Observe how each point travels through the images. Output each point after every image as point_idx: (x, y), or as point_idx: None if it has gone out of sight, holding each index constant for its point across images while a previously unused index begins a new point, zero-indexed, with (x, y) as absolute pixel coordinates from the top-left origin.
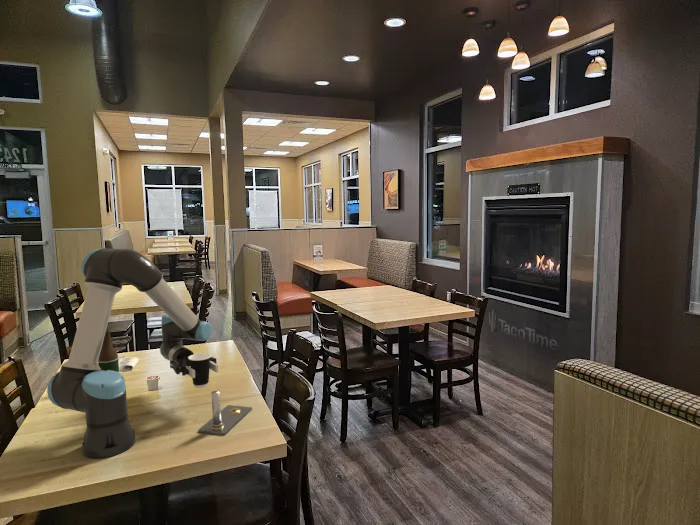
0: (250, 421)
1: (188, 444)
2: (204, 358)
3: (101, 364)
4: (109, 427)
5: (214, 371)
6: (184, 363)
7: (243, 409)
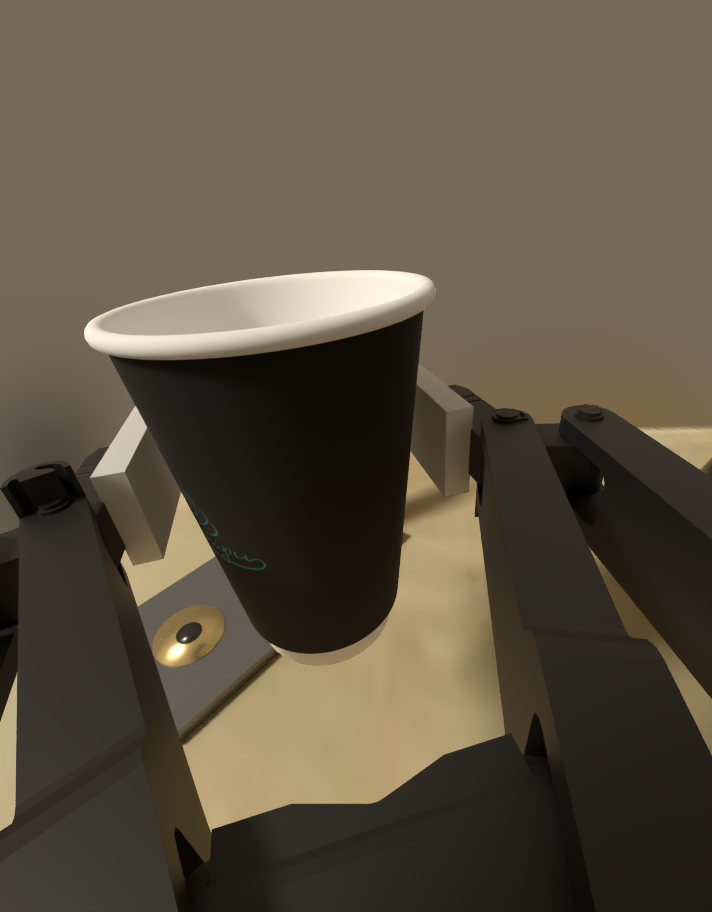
0: (195, 545)
1: (438, 489)
2: (163, 418)
3: None
4: None
5: None
6: (522, 505)
7: (145, 629)
